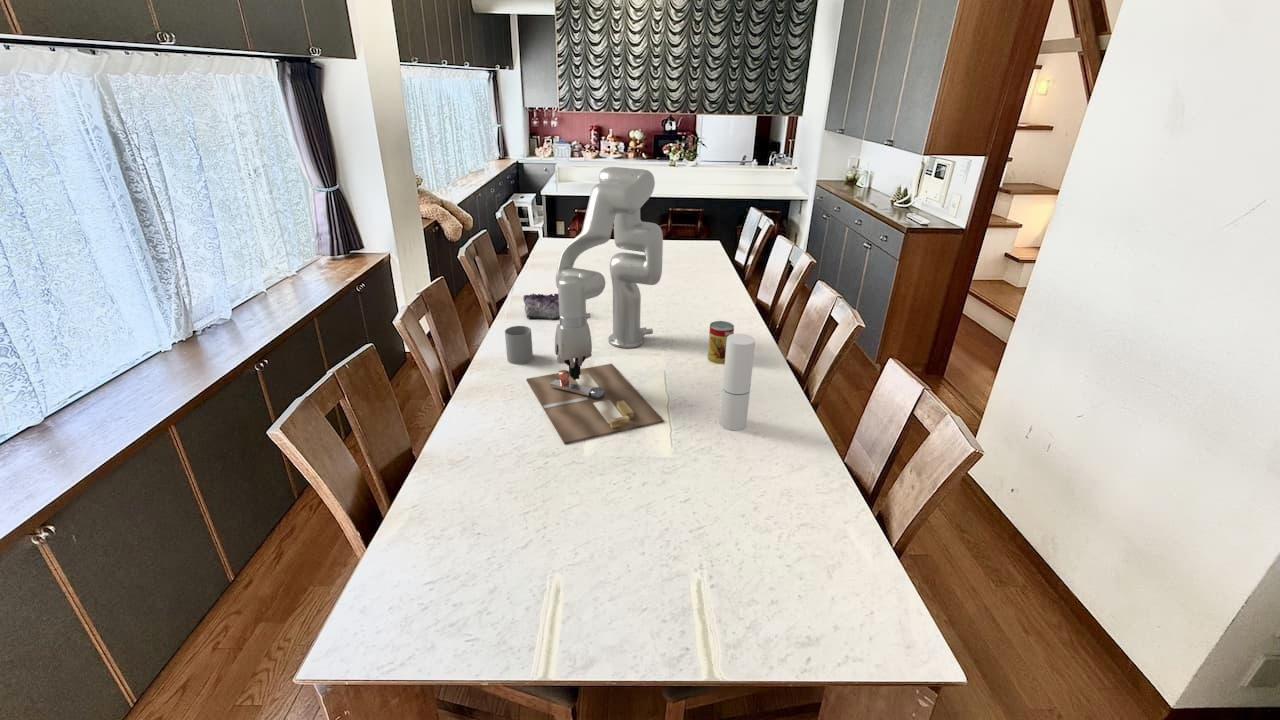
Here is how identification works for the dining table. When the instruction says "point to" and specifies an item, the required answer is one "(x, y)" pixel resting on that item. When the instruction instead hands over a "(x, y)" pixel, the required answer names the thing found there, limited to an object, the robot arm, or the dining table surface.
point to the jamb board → (593, 405)
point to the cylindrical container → (737, 381)
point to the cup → (519, 344)
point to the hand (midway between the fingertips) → (574, 377)
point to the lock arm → (576, 386)
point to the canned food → (719, 340)
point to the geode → (542, 306)
